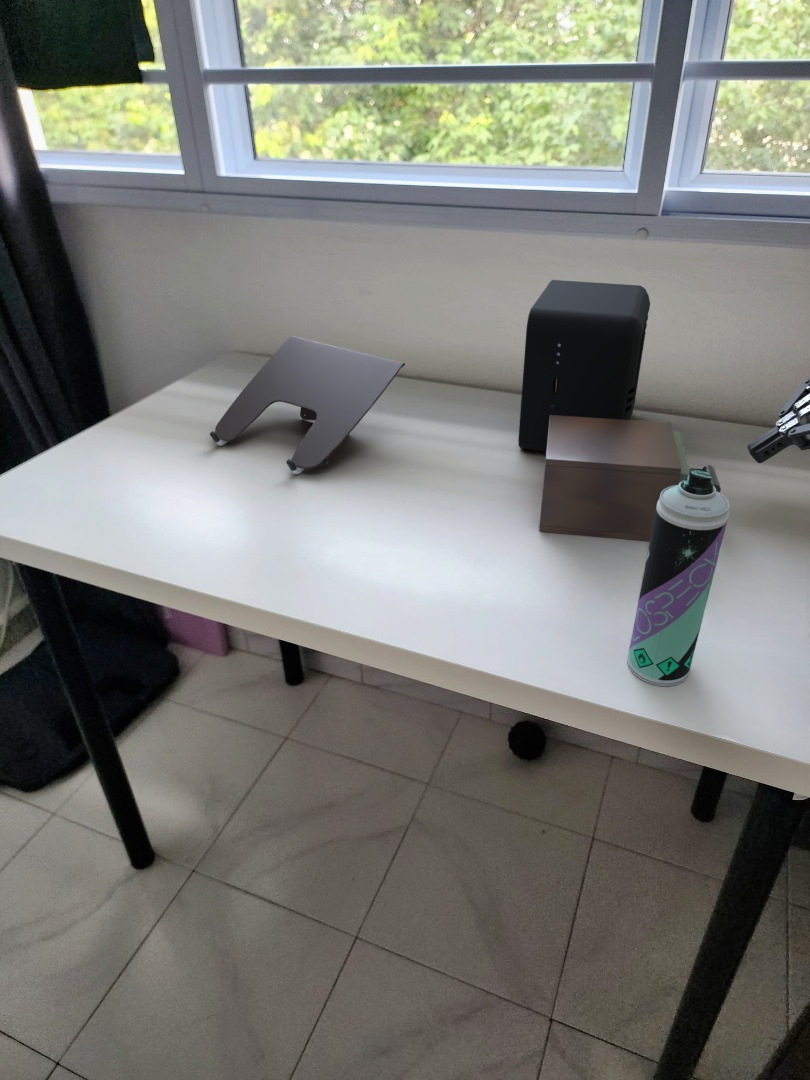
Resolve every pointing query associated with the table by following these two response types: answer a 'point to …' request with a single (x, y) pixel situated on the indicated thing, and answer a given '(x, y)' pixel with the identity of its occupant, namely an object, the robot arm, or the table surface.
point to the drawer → (685, 467)
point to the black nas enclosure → (581, 355)
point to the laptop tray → (312, 395)
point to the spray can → (677, 579)
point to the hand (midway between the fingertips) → (752, 455)
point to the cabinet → (606, 476)
